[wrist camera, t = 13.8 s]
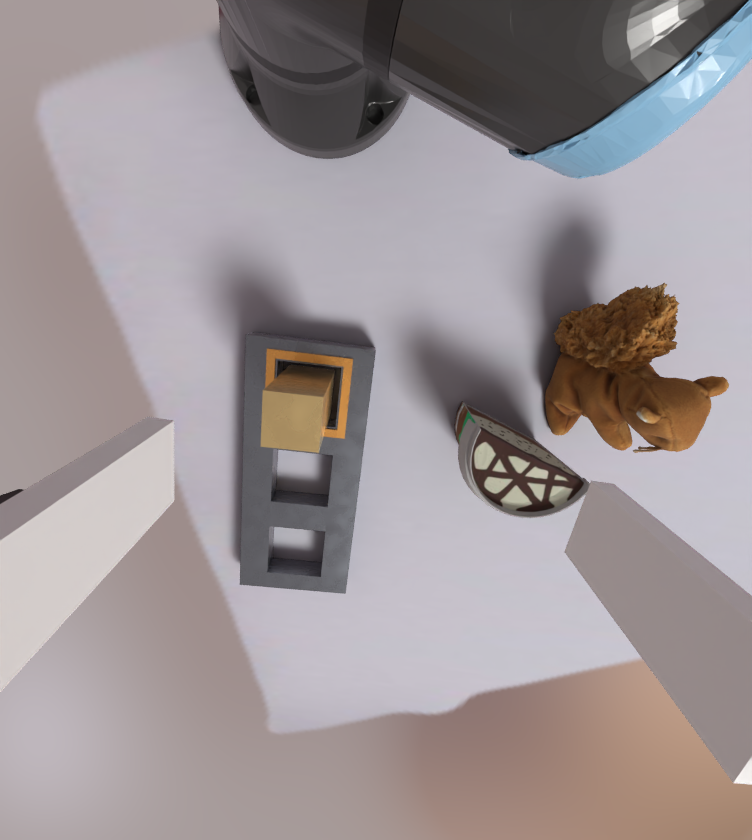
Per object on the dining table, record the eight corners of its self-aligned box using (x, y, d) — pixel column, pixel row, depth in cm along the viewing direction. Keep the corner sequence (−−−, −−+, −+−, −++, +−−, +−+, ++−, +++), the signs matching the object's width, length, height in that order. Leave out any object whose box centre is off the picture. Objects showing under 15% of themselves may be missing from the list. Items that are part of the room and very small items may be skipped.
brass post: (290, 364, 40) (262, 390, 29) (335, 369, 40) (323, 397, 29) (287, 407, 41) (260, 446, 30) (331, 412, 41) (318, 452, 31)
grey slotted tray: (253, 332, 38) (245, 335, 36) (375, 347, 39) (375, 351, 37) (246, 569, 47) (239, 585, 44) (346, 578, 48) (345, 594, 45)
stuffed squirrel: (549, 438, 43) (625, 499, 30) (522, 311, 39) (597, 320, 26) (641, 410, 42) (758, 460, 29) (624, 276, 38) (752, 268, 25)
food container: (420, 444, 43) (435, 487, 33) (449, 394, 41) (474, 426, 31) (514, 490, 45) (555, 544, 35) (546, 445, 43) (597, 489, 33)
